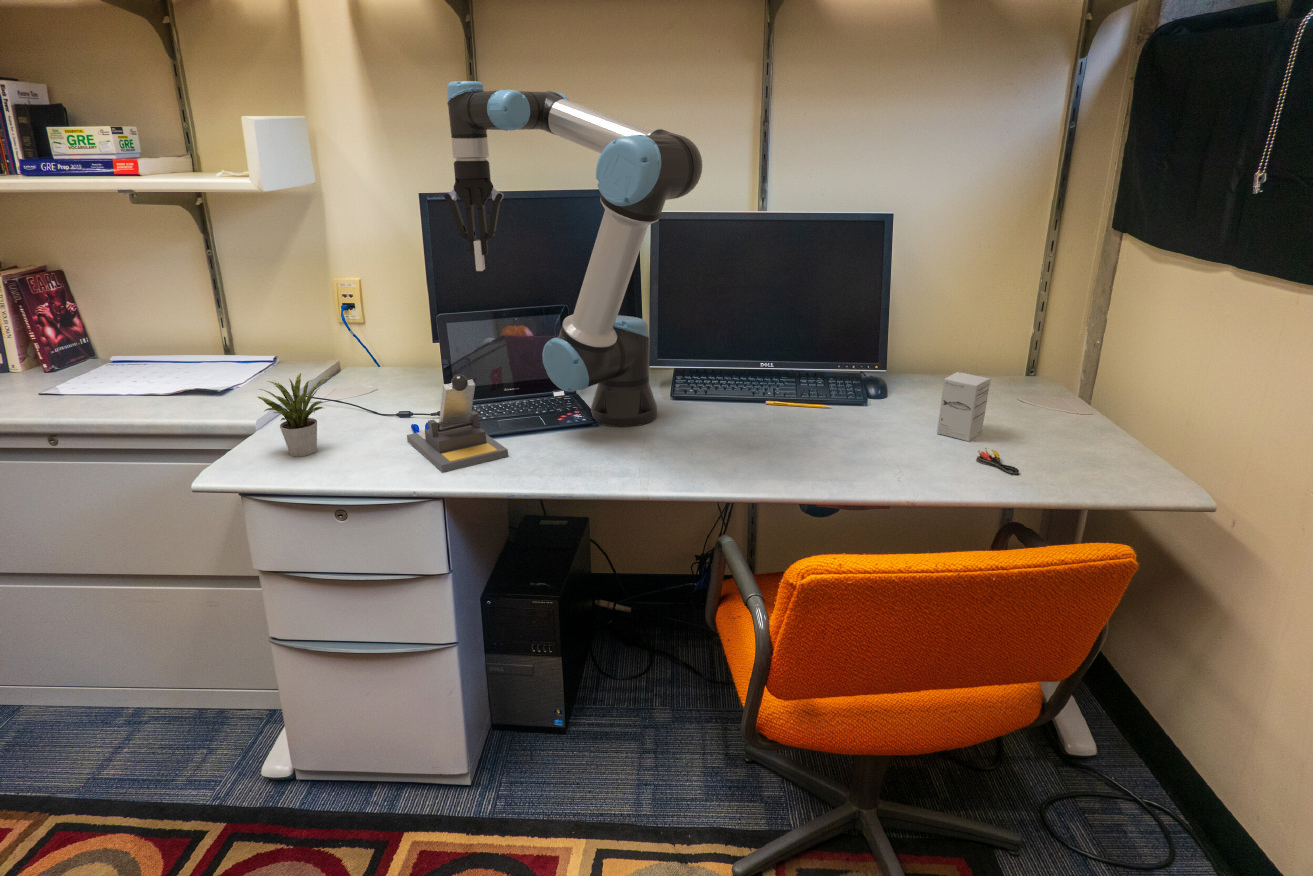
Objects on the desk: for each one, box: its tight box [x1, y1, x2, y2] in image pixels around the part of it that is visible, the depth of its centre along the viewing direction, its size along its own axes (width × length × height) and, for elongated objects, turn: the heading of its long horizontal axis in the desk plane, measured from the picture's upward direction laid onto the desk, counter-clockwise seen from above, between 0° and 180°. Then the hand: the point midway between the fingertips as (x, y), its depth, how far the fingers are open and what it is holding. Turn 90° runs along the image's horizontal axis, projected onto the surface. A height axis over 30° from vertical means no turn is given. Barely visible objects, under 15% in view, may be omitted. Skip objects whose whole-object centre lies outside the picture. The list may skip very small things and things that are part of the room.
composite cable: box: [975, 447, 1020, 476], centre depth 160 cm, size 10×5×2 cm, turn 13°
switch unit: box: [406, 410, 509, 473], centre depth 169 cm, size 20×14×7 cm
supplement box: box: [936, 371, 992, 442], centre depth 175 cm, size 7×7×13 cm
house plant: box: [256, 372, 333, 457], centre depth 167 cm, size 14×14×16 cm
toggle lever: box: [437, 374, 476, 432], centre depth 164 cm, size 3×7×14 cm
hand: (480, 269), depth 185 cm, fingers closed
